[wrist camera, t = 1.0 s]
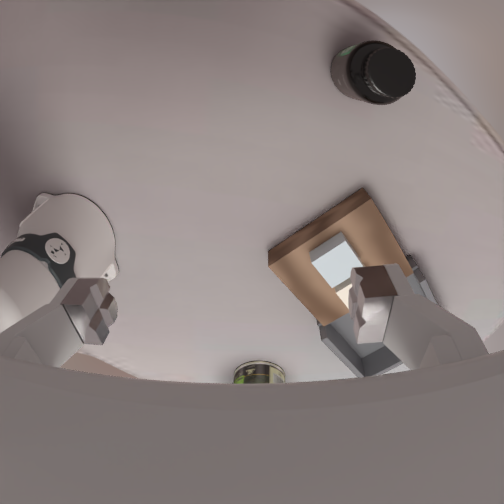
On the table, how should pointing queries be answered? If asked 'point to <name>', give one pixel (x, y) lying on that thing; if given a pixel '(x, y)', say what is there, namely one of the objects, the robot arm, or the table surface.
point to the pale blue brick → (335, 259)
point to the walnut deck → (319, 231)
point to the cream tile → (344, 290)
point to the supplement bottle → (373, 72)
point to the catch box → (367, 354)
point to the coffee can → (259, 373)
